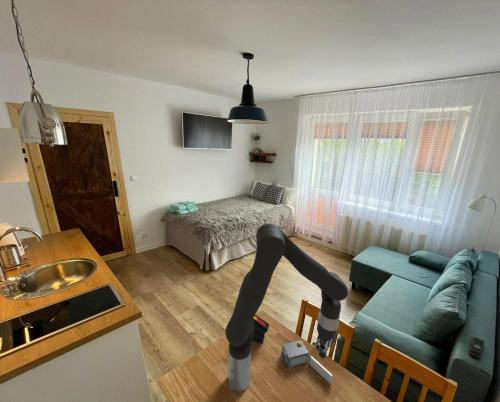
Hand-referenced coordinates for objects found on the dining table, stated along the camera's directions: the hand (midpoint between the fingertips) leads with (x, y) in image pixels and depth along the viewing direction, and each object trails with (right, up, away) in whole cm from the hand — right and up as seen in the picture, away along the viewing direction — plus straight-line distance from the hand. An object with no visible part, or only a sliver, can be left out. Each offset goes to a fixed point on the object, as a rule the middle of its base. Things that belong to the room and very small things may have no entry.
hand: (322, 356), depth 91 cm
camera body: (-8, -12, +16) cm, 22 cm away
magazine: (-27, -9, +26) cm, 39 cm away
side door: (+2, -14, +10) cm, 18 cm away
